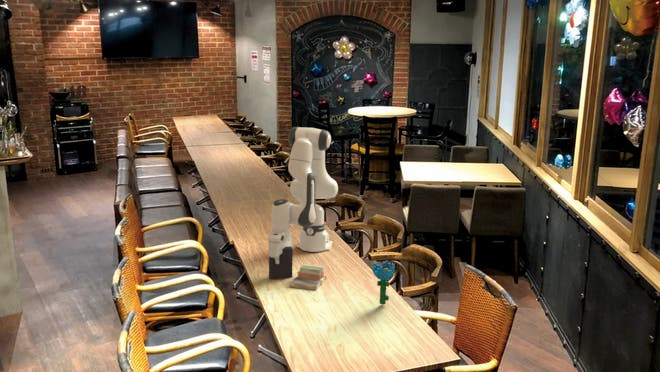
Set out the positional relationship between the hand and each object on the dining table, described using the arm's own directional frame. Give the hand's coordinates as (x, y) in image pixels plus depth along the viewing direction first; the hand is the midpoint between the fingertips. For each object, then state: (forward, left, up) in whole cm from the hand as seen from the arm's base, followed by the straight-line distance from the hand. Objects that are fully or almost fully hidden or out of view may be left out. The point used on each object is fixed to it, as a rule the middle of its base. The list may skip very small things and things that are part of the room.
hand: (280, 261), depth 286 cm
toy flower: (+16, +54, -8) cm, 57 cm away
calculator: (0, 0, -8) cm, 8 cm away
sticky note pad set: (+3, +15, -8) cm, 18 cm away
